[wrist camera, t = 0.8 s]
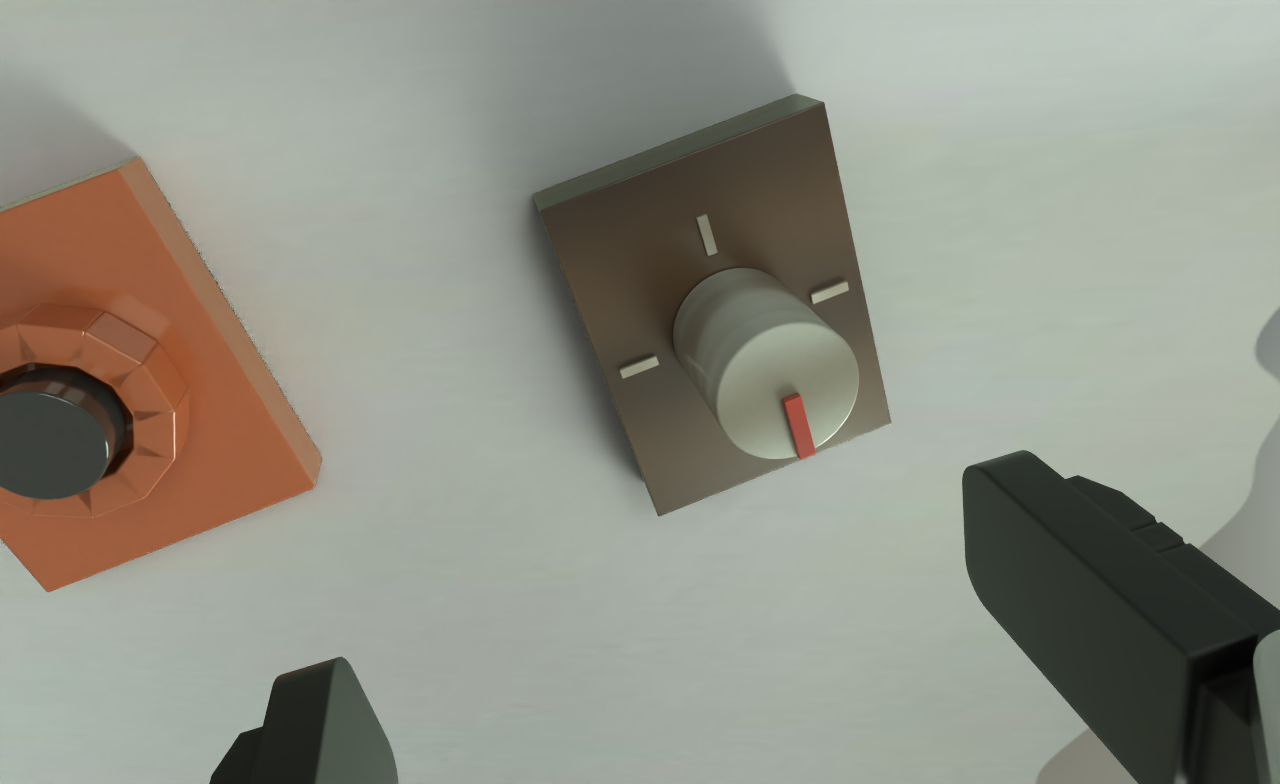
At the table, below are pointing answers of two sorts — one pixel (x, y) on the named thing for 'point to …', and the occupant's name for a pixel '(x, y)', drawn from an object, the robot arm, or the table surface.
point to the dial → (765, 364)
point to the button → (57, 433)
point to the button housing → (138, 376)
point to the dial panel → (693, 251)
